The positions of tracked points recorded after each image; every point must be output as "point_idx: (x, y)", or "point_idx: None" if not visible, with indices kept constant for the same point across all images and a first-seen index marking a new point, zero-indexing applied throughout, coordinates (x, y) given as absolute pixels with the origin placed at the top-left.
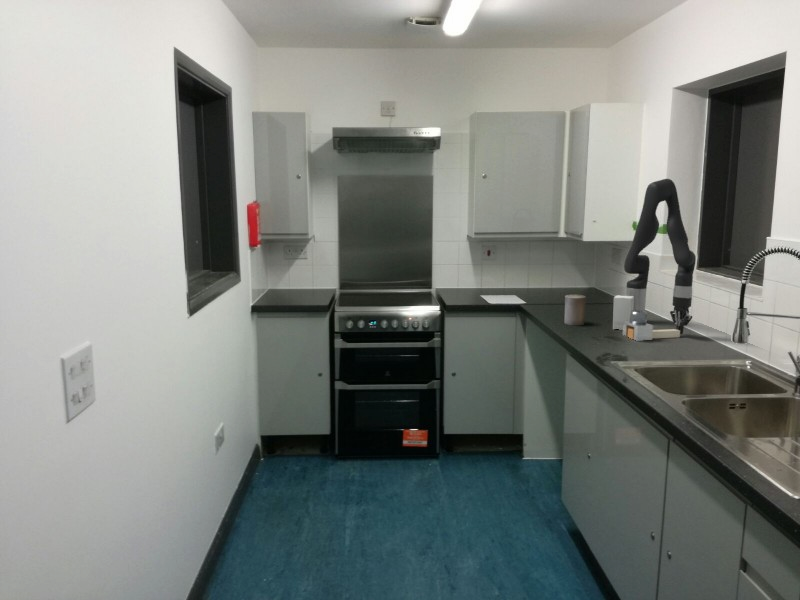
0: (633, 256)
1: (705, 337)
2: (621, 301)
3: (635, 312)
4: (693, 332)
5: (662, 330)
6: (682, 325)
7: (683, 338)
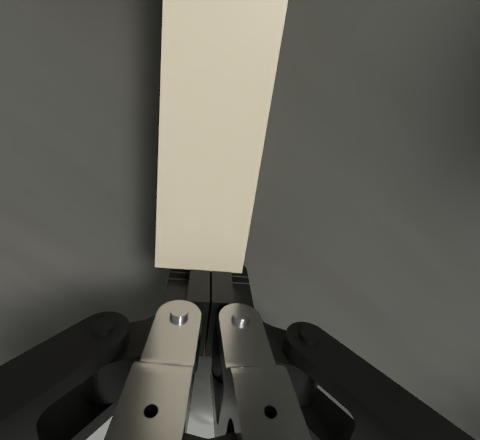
0: None
1: None
2: None
3: None
4: None
5: (227, 12)
6: (91, 321)
7: (114, 230)
